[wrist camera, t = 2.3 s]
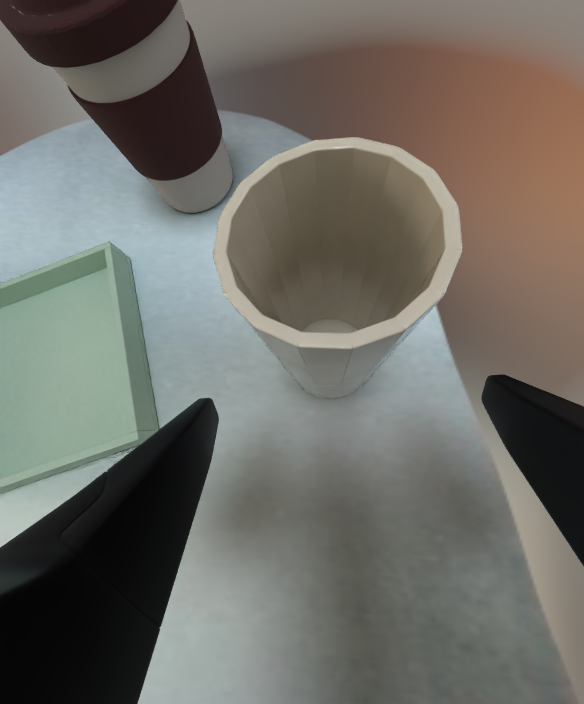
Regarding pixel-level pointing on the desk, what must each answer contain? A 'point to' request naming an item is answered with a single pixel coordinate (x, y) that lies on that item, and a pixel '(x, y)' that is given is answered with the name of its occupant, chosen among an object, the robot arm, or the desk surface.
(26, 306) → the tray
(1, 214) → the desk surface
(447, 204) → the tumbler
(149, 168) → the coffee cup
